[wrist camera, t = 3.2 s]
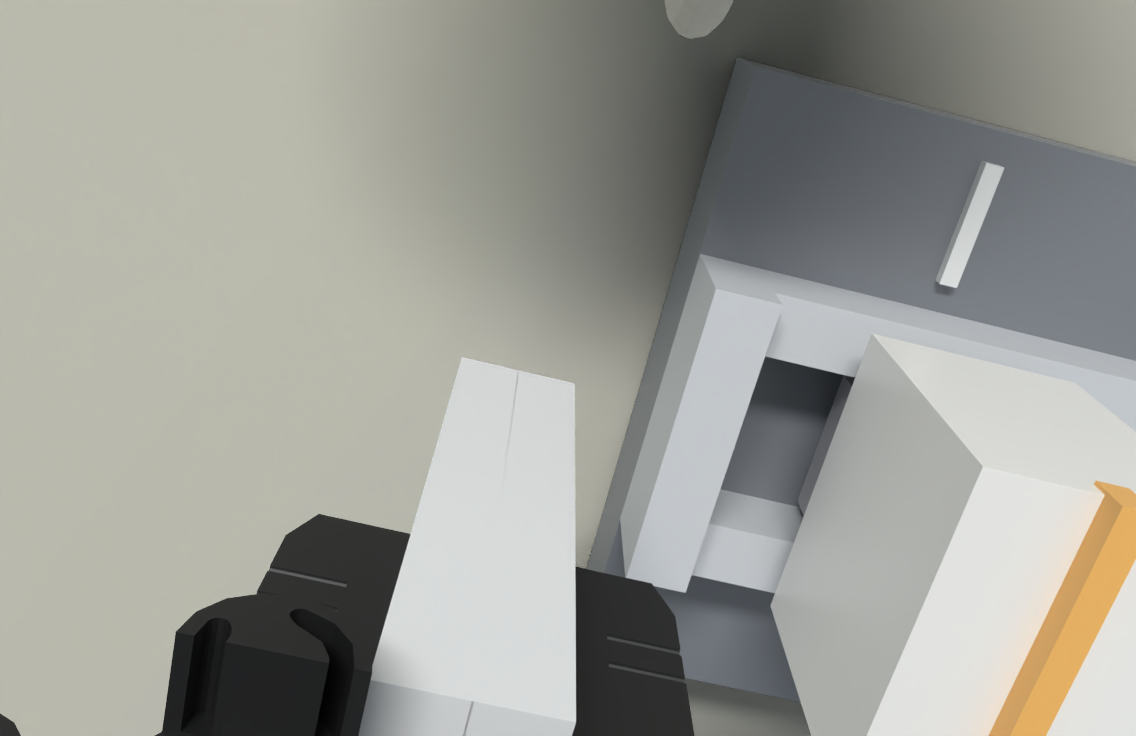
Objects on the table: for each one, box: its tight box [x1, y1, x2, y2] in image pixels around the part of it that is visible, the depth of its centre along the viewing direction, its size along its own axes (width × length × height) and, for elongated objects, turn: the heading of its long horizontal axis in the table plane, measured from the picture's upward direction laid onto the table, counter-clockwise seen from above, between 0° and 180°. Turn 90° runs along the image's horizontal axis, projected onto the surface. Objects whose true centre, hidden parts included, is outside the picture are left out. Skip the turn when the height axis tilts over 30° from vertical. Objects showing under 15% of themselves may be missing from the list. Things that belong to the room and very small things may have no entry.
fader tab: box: [770, 334, 1136, 736], centre depth 15 cm, size 3×5×6 cm, turn 166°
